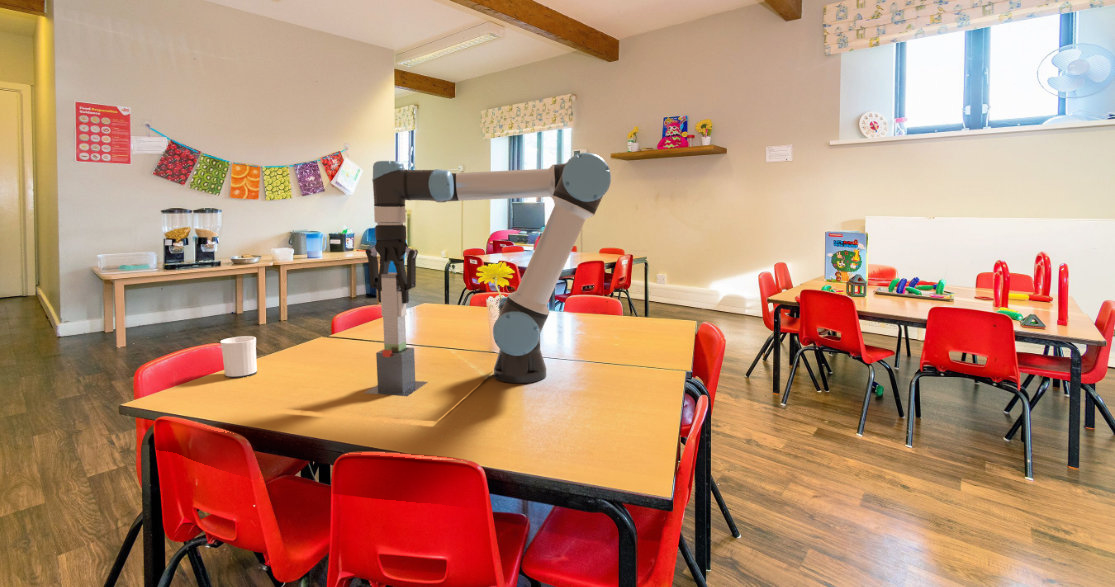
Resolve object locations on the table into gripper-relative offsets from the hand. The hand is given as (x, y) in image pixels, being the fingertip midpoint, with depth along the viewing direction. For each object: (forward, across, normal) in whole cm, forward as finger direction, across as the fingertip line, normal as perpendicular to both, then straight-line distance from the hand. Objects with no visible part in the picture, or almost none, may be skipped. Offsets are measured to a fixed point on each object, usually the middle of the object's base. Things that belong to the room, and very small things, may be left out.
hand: (394, 315), depth 140 cm
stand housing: (+20, 0, 0) cm, 20 cm away
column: (+12, 0, 0) cm, 12 cm away
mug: (+20, +52, -5) cm, 56 cm away
